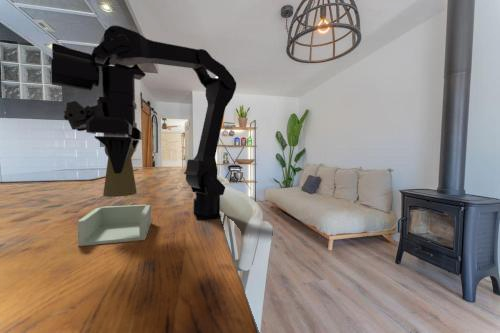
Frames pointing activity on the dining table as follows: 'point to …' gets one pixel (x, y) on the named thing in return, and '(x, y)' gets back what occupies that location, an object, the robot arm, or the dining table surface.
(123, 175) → the cork
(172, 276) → the dining table surface
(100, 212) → the u rest
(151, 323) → the dining table surface
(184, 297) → the dining table surface
